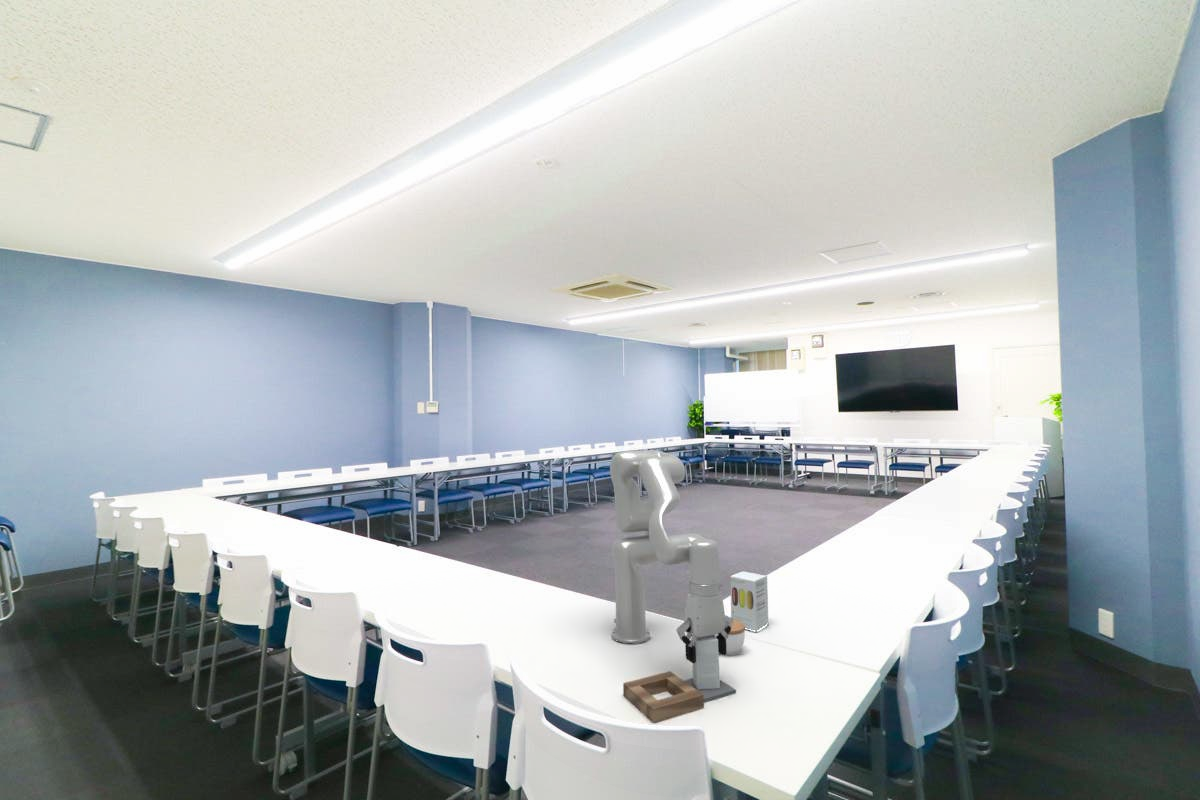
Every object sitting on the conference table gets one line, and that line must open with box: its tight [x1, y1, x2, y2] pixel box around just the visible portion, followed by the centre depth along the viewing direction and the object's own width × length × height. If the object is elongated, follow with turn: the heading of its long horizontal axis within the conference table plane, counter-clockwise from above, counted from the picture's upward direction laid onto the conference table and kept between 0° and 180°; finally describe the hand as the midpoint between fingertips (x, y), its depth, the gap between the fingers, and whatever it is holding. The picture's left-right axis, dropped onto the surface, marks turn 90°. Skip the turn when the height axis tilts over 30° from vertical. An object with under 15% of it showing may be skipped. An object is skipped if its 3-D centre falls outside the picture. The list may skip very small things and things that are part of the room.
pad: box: [683, 677, 737, 703], centre depth 130 cm, size 10×10×1 cm
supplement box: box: [730, 570, 769, 631], centre depth 174 cm, size 10×9×17 cm
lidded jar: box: [714, 619, 746, 656], centre depth 154 cm, size 11×11×9 cm
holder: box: [622, 670, 705, 724], centre depth 125 cm, size 14×14×3 cm
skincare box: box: [692, 635, 721, 690], centre depth 131 cm, size 6×4×12 cm
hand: (706, 657), depth 131 cm, fingers open, 9 cm apart
